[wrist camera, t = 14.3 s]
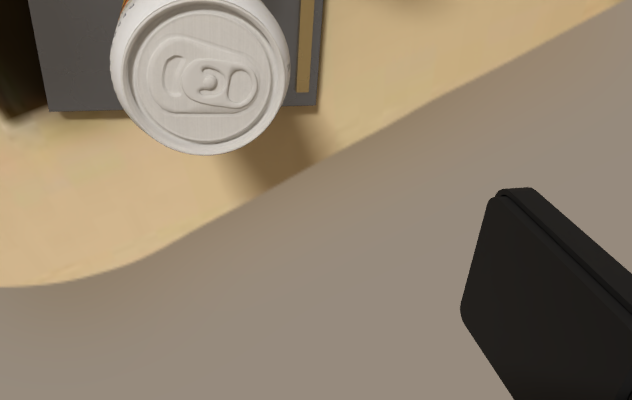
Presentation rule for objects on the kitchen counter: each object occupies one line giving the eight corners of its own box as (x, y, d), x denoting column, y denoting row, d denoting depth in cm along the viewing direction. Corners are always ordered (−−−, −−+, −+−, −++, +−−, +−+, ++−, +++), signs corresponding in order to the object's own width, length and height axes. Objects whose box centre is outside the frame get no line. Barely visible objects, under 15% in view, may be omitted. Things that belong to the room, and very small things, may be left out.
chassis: (326, -127, 30) (354, -126, 26) (311, 98, 36) (331, 129, 32) (4, -154, 26) (-27, -158, 22) (52, 104, 33) (36, 140, 28)
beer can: (134, -79, 28) (112, -36, 15) (250, -52, 30) (315, 6, 17) (125, 38, 31) (101, 156, 18) (233, 57, 33) (277, 174, 20)
